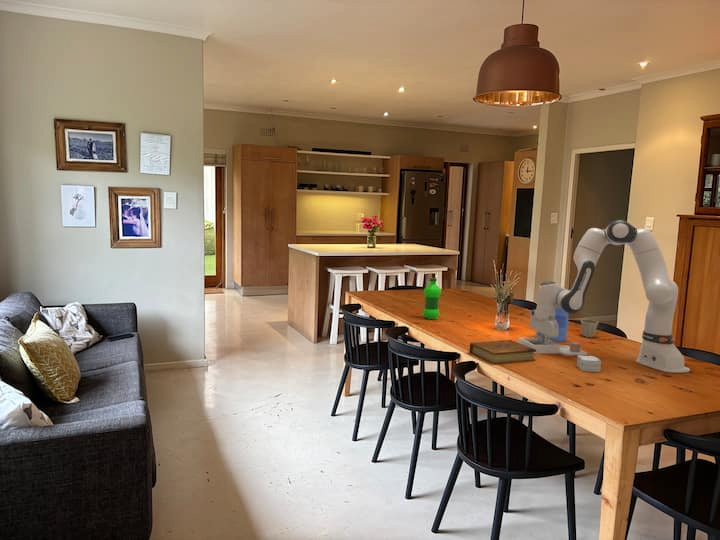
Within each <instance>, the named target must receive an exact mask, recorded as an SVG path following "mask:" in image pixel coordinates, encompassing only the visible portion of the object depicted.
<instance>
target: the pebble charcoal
mask: <svg viewBox="0 0 720 540" xmlns="http://www.w3.org/2000/svg"><path fill="white" fill-rule="evenodd" d="M530 343H532V344H534V345H540V342H539V341H537V340H530Z"/></svg>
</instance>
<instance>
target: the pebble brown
mask: <svg viewBox="0 0 720 540" xmlns="http://www.w3.org/2000/svg"><path fill="white" fill-rule="evenodd" d="M569 346H570V349H569V350H570V351H572V352H580V350H581V343H579V342H577V341H570V342H569Z"/></svg>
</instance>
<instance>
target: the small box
mask: <svg viewBox="0 0 720 540" xmlns="http://www.w3.org/2000/svg"><path fill="white" fill-rule="evenodd" d="M576 366H577V367H578V368H579V370H581V371H582V372H591V373H593V372H594V373H601V368H602V361H601V360H600V359H599V358H598V357H596V356H594V355H577V361H576Z"/></svg>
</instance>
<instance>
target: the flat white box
mask: <svg viewBox="0 0 720 540" xmlns="http://www.w3.org/2000/svg"><path fill="white" fill-rule="evenodd" d="M530 340H537V341H538V338H537V337H518V341H517V343H520V344H523V345H525V346H528V347H530V348H533V349H536V352H534V354H535V355H536V354H537V355H538V354H544V355H545V354H547V355H548V354H560V353H559V351H560V346H561V345H560V344H559V343H558V342H552V341H550V340H548V344H547V345H534V344H532V343H530Z"/></svg>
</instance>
